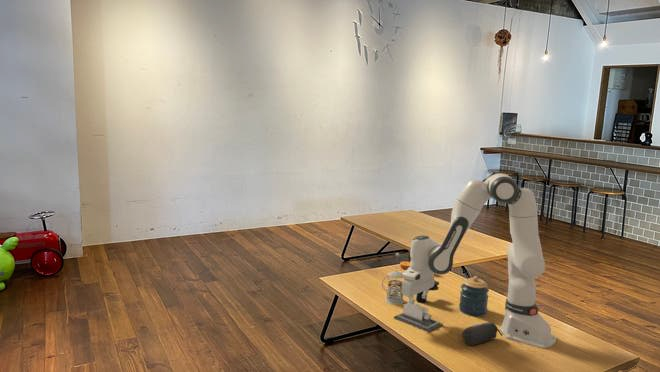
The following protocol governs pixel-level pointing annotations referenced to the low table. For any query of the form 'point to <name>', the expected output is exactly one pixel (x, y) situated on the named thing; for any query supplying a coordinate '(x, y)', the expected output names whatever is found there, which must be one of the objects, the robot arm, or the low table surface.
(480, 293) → the canister
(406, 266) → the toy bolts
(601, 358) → the low table surface
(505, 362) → the low table surface
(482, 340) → the glasses case
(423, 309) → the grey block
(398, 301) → the french press
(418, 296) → the pipe connector
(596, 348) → the low table surface
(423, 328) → the plate
